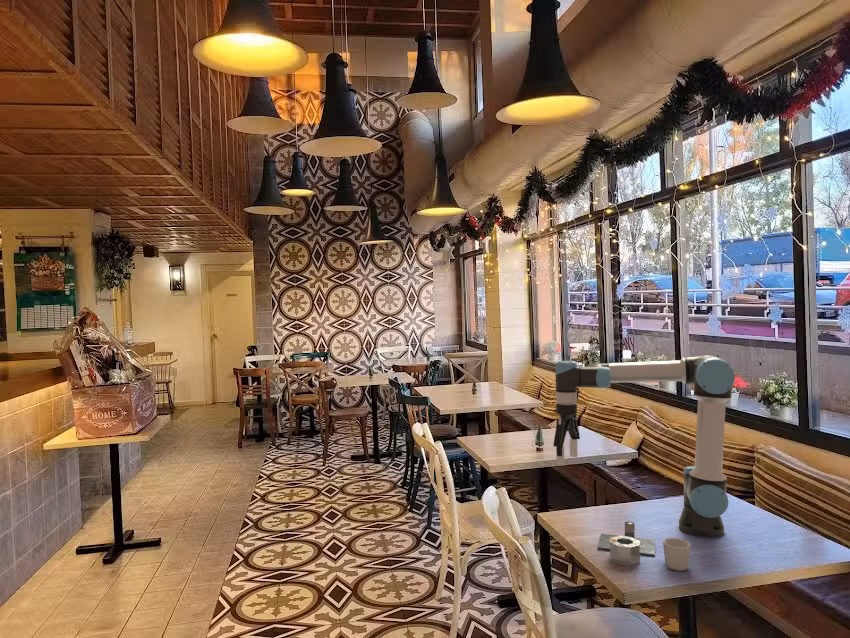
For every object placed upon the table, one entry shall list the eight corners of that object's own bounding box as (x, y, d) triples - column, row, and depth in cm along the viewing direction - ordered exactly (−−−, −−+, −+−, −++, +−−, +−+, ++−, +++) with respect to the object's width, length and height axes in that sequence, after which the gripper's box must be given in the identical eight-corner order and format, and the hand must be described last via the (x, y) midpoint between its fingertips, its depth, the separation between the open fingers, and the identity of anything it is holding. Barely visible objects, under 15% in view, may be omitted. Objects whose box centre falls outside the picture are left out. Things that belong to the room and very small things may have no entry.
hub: (640, 556, 195) (639, 537, 195) (639, 567, 187) (639, 547, 187) (611, 552, 199) (611, 534, 199) (609, 563, 190) (609, 544, 190)
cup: (654, 559, 193) (654, 534, 193) (678, 558, 194) (677, 533, 193) (671, 574, 182) (670, 548, 182) (695, 572, 183) (695, 546, 183)
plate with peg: (654, 542, 207) (654, 519, 207) (654, 556, 195) (654, 532, 195) (601, 535, 213) (600, 513, 213) (597, 549, 201) (597, 526, 201)
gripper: (568, 397, 230) (569, 452, 231) (543, 407, 210) (544, 466, 210) (587, 399, 226) (588, 454, 226) (563, 408, 205) (564, 469, 206)
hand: (567, 460), depth 218 cm, fingers open, 13 cm apart
